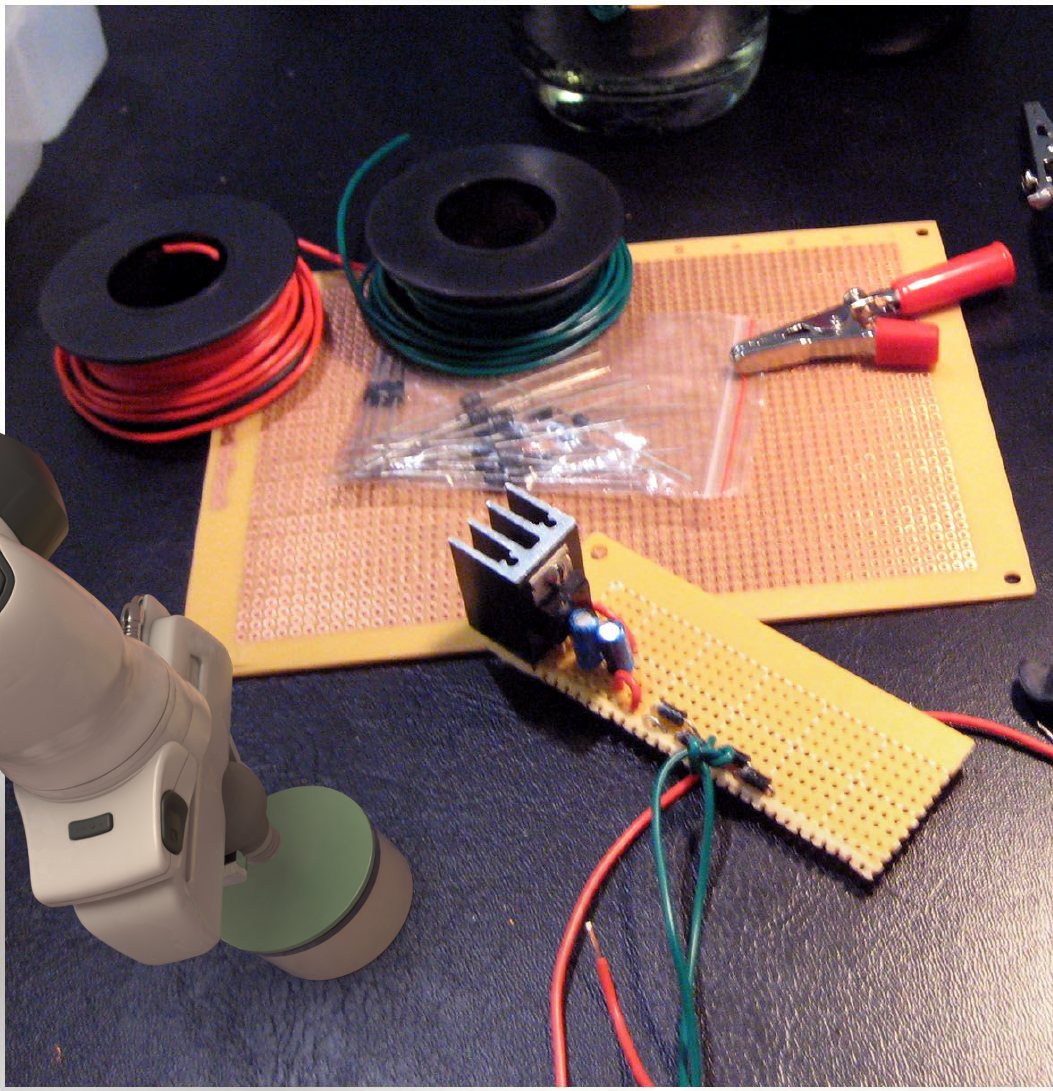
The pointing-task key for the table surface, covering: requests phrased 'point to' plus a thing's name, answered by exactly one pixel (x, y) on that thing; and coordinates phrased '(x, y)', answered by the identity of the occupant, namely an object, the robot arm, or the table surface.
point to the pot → (320, 889)
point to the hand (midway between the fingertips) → (237, 828)
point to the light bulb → (247, 816)
